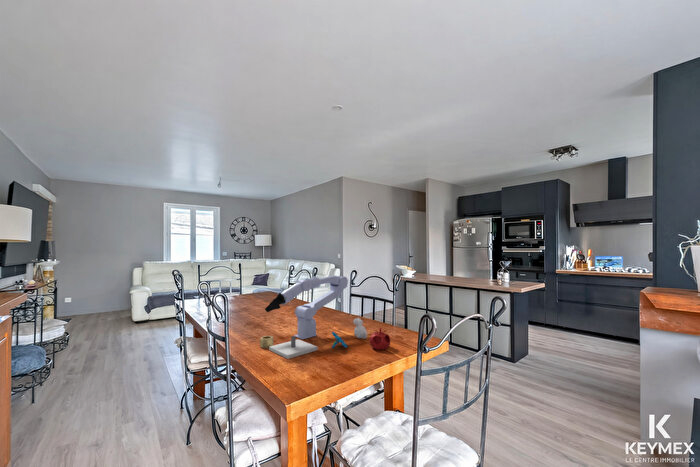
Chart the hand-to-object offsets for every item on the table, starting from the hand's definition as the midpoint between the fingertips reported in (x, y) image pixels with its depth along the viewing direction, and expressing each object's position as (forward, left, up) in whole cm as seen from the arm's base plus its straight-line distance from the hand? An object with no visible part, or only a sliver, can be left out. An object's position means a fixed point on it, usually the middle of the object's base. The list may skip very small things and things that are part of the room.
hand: (268, 308), depth 152 cm
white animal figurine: (-41, +22, -18) cm, 50 cm away
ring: (+1, 0, -18) cm, 18 cm away
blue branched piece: (-23, +26, -18) cm, 39 cm away
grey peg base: (-5, +14, -18) cm, 23 cm away
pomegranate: (-36, +40, -18) cm, 57 cm away
